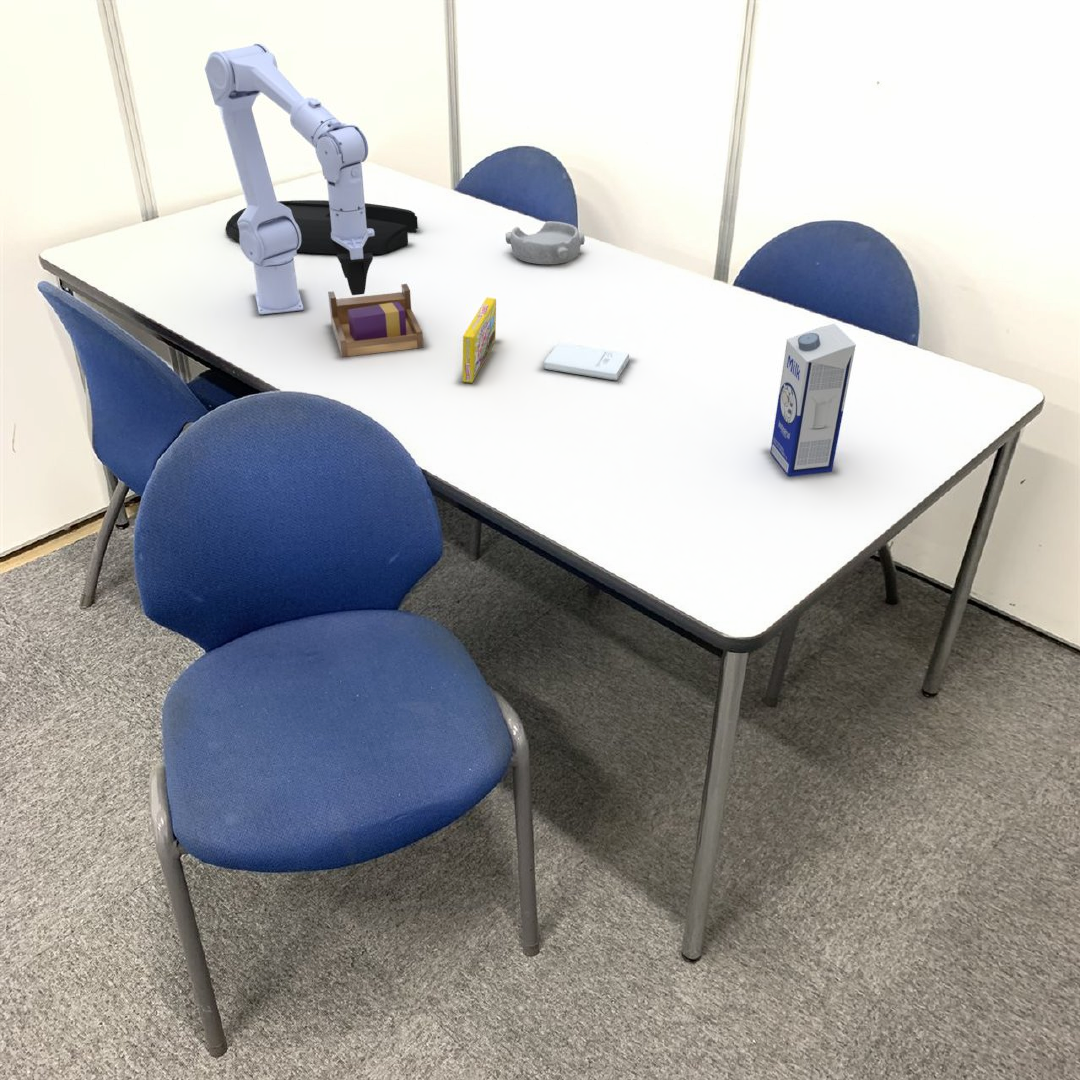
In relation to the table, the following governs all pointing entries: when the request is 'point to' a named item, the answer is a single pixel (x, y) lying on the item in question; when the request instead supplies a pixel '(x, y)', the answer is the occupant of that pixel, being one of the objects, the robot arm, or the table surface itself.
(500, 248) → the table surface
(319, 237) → the docking station
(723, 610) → the table surface
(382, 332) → the chocolate bar
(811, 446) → the milk carton
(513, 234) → the dish
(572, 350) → the hard drive
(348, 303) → the tray
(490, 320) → the candy box
